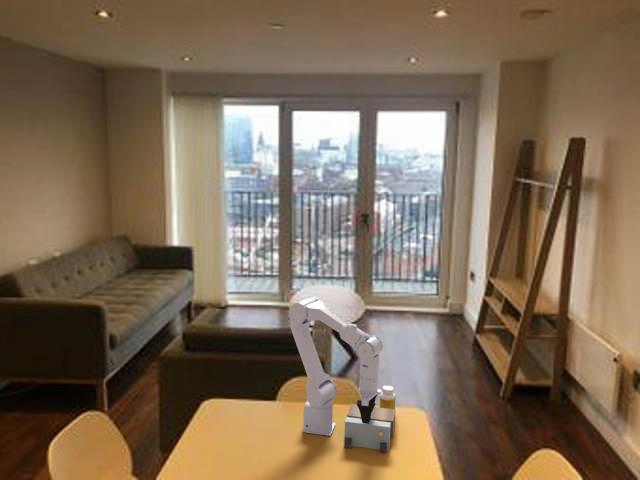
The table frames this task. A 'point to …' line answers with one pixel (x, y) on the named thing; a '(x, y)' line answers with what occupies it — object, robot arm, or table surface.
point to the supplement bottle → (387, 397)
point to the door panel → (367, 433)
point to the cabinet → (376, 415)
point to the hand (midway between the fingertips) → (367, 416)
